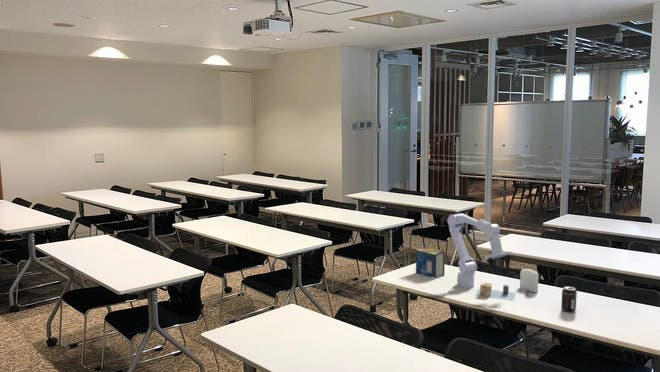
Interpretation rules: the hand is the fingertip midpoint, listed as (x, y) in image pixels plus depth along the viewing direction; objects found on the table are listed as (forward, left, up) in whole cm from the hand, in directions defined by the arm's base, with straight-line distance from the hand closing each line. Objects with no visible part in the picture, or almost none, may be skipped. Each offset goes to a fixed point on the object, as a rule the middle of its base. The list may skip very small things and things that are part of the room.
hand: (501, 270), depth 287 cm
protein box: (-47, +30, -16) cm, 58 cm away
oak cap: (-8, -1, -14) cm, 16 cm away
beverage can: (+34, -6, -16) cm, 38 cm away
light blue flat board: (-3, +2, -16) cm, 16 cm away
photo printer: (+13, +21, -16) cm, 30 cm away
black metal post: (+2, +5, -14) cm, 15 cm away
